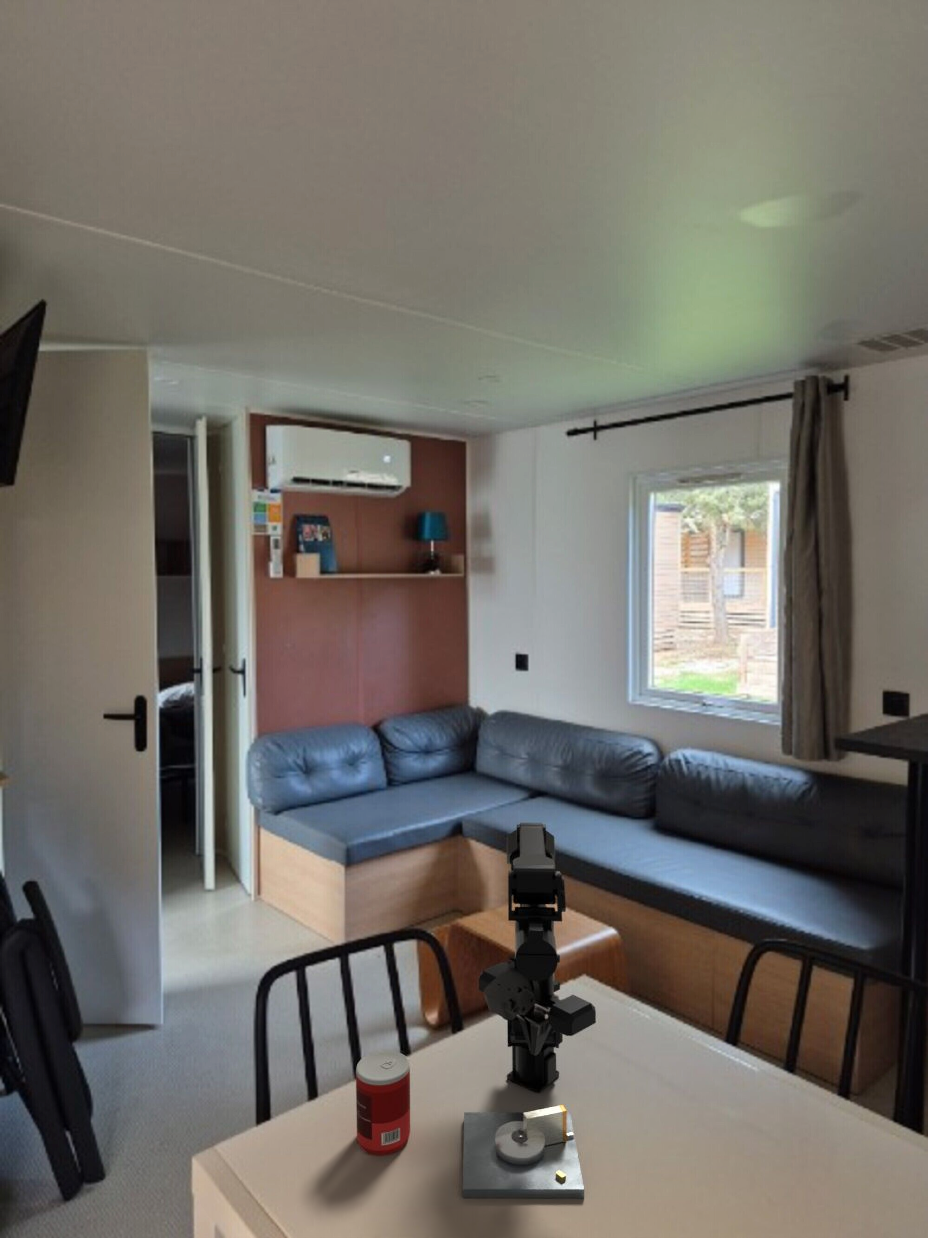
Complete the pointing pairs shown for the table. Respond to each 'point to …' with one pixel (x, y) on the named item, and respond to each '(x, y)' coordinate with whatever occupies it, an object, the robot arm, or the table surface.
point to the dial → (531, 1135)
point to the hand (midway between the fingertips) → (535, 1053)
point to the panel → (506, 1180)
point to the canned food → (383, 1102)
